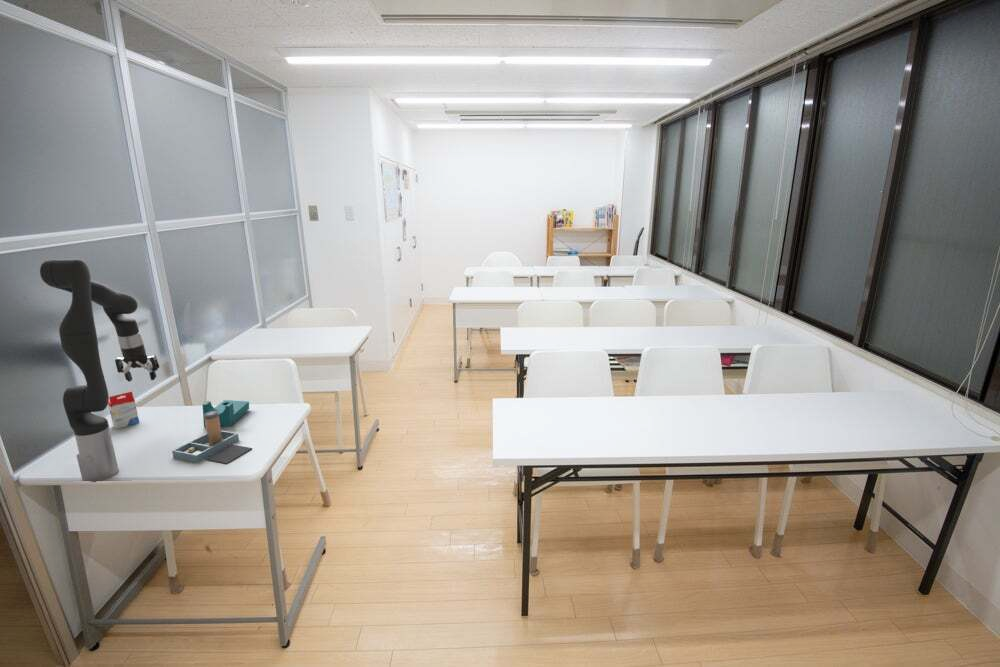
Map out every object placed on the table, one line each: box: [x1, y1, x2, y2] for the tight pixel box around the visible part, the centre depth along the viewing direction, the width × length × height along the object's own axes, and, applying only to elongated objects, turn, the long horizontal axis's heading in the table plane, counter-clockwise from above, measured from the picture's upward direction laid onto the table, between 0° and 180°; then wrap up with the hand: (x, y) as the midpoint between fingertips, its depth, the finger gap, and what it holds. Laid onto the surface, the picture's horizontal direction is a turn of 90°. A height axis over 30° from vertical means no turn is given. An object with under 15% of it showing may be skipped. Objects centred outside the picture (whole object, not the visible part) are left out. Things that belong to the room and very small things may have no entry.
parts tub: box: [171, 429, 240, 464], centre depth 190 cm, size 19×12×3 cm, turn 162°
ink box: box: [107, 391, 140, 430], centre depth 209 cm, size 8×5×15 cm, turn 139°
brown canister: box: [204, 411, 224, 446], centre depth 192 cm, size 5×5×13 cm
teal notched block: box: [202, 399, 250, 428], centre depth 216 cm, size 18×11×10 cm, turn 2°
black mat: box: [205, 443, 253, 465], centre depth 186 cm, size 12×10×1 cm
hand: (142, 380), depth 200 cm, fingers open, 8 cm apart
